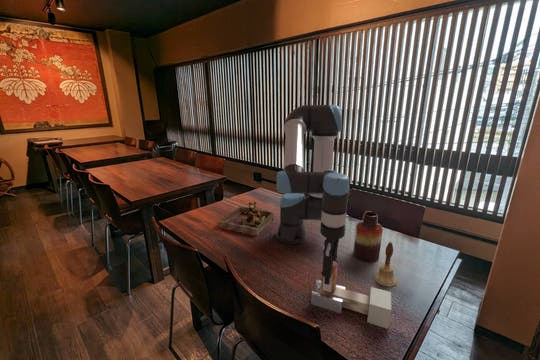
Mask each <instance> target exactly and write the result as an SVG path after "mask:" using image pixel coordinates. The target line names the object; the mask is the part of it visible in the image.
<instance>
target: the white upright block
mask: <svg viewBox="0 0 540 360" xmlns="http://www.w3.org/2000/svg"><path fill="white" fill-rule="evenodd" d="M369 296H370V304H369V311H368V315H367V320H366V322H367V324H371V325H374V326H377V327H380V328H384V329H387V330H388V329H389V326H390V320H391V316H392V315H391V314H392V292H391V291H388V290H384V289H380V288H376V287H372V286H371V287H370V293H369Z"/></svg>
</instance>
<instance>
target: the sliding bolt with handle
mask: <svg viewBox="0 0 540 360" xmlns="http://www.w3.org/2000/svg"><path fill="white" fill-rule="evenodd" d="M338 266H339V265H338V264H337V262H336V261H334V260H333V267H332V286H331V292H328V291H325V290H323V276H322V275H321V289H320V293H322V294H325V295H329V296H332V297H336V298H339V299H342V300H343V302H342V309H343V308H344V309H347V310H350V311H354V312H356V313H360V314H363V315H367V316H368V311H369V304H370V295H367V294H364V293H360V292H356V291H353V290H349V289H346V288H345V289H342V288H338V287H336V285H337V275H338ZM321 270H322V271H323V264H322V268H321ZM322 271H321V272H322Z"/></svg>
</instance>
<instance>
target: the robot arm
mask: <svg viewBox="0 0 540 360" xmlns="http://www.w3.org/2000/svg"><path fill="white" fill-rule="evenodd" d="M342 118H343V117H342V111H341V109H340V107H339V106H338V105H336V104H304V105H299V106H298V107H295V109H292V110H291V111H290V113H289V114H288V115H287V117H286V119H285V120H284V123H283V131H284V134H285V139H284V142H285V143H284V156H283V157H284V158H283V167H282V169H283V170H281V171H277V174H276V190H277V191H276V192H278V193H281V194H282V196H281V197H280V203H279V208H280V211H279V212H280V217H279V219H280V220H279V221H280V222H279V225H278V228H277V230H276V239H277V241H279V242H280V243H282V244H285V245H293V246H294V245H300V244H303V243H304V242H306V240H307V236H308V235H307V230H306V228H305V224H304V221H321V222H320V227H319V229H320V234H321V236H323V237H324V238H325V240H324V242H323V244H324V249H323V253H322V254H323V256H322V257H323V259H322V260H323V261H322V265H323V271H320V274H321V277H322V276H323V290H325V291H328V292H331V286H332V267H333V260H334V261H336V262H337V264H338V263H339V260H337V258H338V247H339V242H340V239H343V238H344V237H345V235H346V221H347V219H349V215H348V214H347V210H348V200H349V192H350V177H349V176H348V175H347V174H345V173H343V172H342V173H341V172H337V171H336V170H333V156H334V155H333V154H334V143H335V142H334V141H335V139H337V137H338V133H340V132H342V130H343V129H342V128H343V119H342ZM306 132H307V133H308V132H309V133H310V136H311V137H312V138H313V140H314V141H313V142H314V143H313V144H314V145H313V166H312V171H305V134H306ZM305 194H308V195H305Z"/></svg>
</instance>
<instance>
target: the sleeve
mask: <svg viewBox="0 0 540 360" xmlns="http://www.w3.org/2000/svg"><path fill="white" fill-rule="evenodd" d="M321 281H322V279H321V280H320V279H316V281H315V290H312V291H311V298H310V299H311V302H310V304H311V305H312V306H315V307H319V308H322V309H325V310H329V311H332V312H335V313H338V314H342V312H343V307H342V302H343V300H342V299H339V298H336V297H332V296H329V295H325V294H322V293H320V289H321ZM336 287H338V288H342V289H346V287H345V286H343V285H339V284H336Z"/></svg>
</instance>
